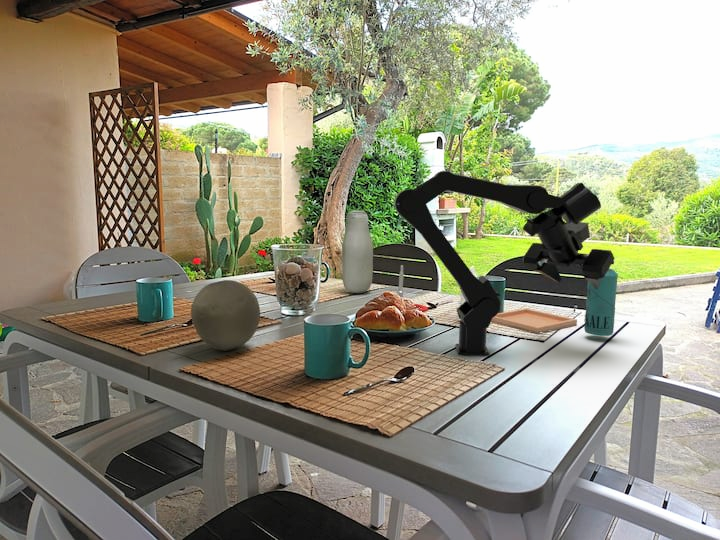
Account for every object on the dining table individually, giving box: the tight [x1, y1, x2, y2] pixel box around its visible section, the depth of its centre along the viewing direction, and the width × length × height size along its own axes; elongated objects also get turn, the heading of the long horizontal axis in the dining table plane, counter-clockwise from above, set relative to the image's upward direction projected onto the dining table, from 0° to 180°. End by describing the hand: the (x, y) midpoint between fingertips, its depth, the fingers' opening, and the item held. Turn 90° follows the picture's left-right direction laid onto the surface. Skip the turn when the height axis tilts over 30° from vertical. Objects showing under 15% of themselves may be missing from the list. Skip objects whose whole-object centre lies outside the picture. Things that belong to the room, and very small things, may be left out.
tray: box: [491, 307, 578, 334], centre depth 137 cm, size 16×16×2 cm
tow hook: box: [397, 264, 429, 313], centre depth 151 cm, size 8×13×9 cm
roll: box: [459, 265, 478, 305], centre depth 160 cm, size 6×12×6 cm
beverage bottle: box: [583, 260, 619, 337], centre depth 121 cm, size 6×7×20 cm
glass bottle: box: [341, 209, 374, 294], centre depth 175 cm, size 10×10×28 cm
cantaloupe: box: [190, 279, 261, 352], centre depth 110 cm, size 14×14×15 cm
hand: (578, 284), depth 117 cm, fingers open, 9 cm apart
